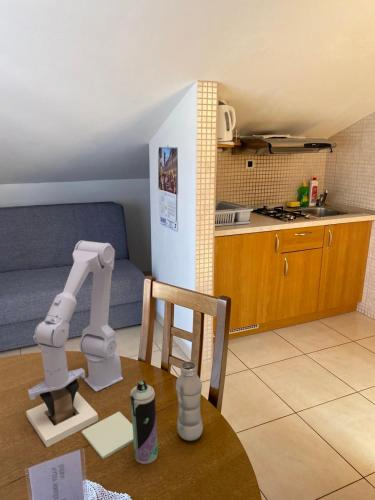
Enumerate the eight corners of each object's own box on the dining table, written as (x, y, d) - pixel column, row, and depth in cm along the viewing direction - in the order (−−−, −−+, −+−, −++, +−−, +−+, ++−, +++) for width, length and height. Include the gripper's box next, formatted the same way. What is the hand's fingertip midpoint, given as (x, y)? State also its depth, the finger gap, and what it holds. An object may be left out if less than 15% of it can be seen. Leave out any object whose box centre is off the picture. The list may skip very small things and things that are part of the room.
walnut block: (66, 410, 108) (63, 386, 106) (74, 419, 105) (70, 394, 102) (51, 418, 105) (47, 393, 103) (57, 427, 102) (54, 401, 99)
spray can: (148, 467, 89) (143, 393, 83) (129, 457, 92) (124, 385, 86) (162, 451, 93) (159, 379, 88) (144, 442, 96) (139, 372, 90)
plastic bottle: (184, 448, 94) (182, 377, 88) (172, 430, 100) (170, 362, 94) (207, 438, 97) (207, 369, 91) (194, 421, 103) (193, 355, 97)
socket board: (75, 395, 114) (74, 389, 114) (98, 420, 104) (97, 414, 103) (27, 417, 106) (26, 411, 105) (46, 447, 95) (45, 440, 95)
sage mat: (119, 413, 106) (119, 411, 106) (142, 436, 98) (141, 433, 98) (81, 433, 100) (81, 431, 99) (102, 459, 91) (102, 456, 91)
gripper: (75, 349, 107) (80, 391, 111) (21, 369, 99) (28, 414, 102) (86, 359, 102) (91, 403, 106) (31, 382, 93) (38, 429, 97)
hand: (61, 409), depth 104 cm, fingers closed on walnut block, 4 cm apart
